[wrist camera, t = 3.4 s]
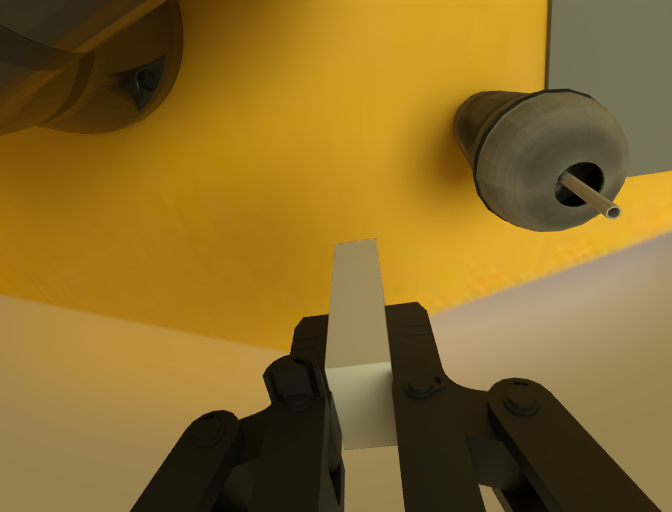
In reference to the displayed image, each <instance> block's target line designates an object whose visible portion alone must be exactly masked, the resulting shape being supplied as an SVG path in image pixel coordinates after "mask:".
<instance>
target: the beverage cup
mask: <svg viewBox="0 0 672 512" xmlns="http://www.w3.org/2000/svg"><path fill="white" fill-rule="evenodd" d="M454 132H455V136H456V138H457V142H458V144H459V146H460V148H461V150H462V152H463V153H464V155H465V157H466V159H467V161H468V163H469V164H470V166H471V168H472V170H473V178H474V182H475V186H476V190H477V194H478V196H479V197H480V199H481V200H482V201H483V203H484V204H485V206H486V207H487V209H488V210H489V211H491V212H492V213H494V214H495V215H497V216H498V217H500V218H501V219H502V220H504V221H507V222H509V223H511V224H513V225H515V226H517V227H521V228H525V229H529V230H532V231H538V232H549V231H562V230H566V229H569V228H572V227H576V226H579V225H582V224H584V223H586V222H587V221H589V220H591V219H592V218H594V217H596V216H597V215H599V214H600V213H601V214H603V215H604V216H605V217H607V218H608V219H616V218H618V217H619V216H620V215H621V212H622V210H621V209H620V208H619V206H617V205H616V204H614V203H613V202H612V201H613V200H614V199H615V197H616V196H617V194H618V192H619V191H620V189H621V187H622V186H623V184H624V182H625V178H626V174H627V170H628V167H629V152H628V141H627V139H626V136H625V134H624V132H623V130H622V128H621V126H620V124H619V122H618V120H617V119H616V118H615V117H614V116H613V115H612V114H611V113H610V112H609V111H607V110H606V108H604V107H603V106H602V105H601V104H600V103H598V102H597V101H596V100H595V99H594V98H592V97H591V96H590V95H588V94H585V93H581V92H578V91H575V90H572V89H568V88H565V89H546V90H541V91H539V92H534V93H520V92H507V91H487V92H480V93H477V94H475V95H472V96H471V97H469V98H468V99H467V100H466V101H464V102H463V104H462V105H461V106H460V108H459V109H458V111H457V113H456V116H455V119H454Z"/></svg>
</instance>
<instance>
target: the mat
mask: <svg viewBox="0 0 672 512" xmlns="http://www.w3.org/2000/svg"><path fill="white" fill-rule="evenodd" d="M565 88H568V89H572V90H575V91H578V92H581V93H585V94H588V95H590V96H591V97H592V98H594V99H595V100H596V101H597V102H598V103H600V104H601V105H602V106H603V107H604V108H606V110H607V111H609V112H610V113H611V114H612V115H613V116H614V117H615V118H616V119H617V120H618V122H619V124H620V126H621V128H622V130H623V132H624V134H625V136H626V139H627V141H628V152H629V167H628V170H627V174H626V177H631V176H637V175H644V174H650V173H657V172H664V171H670V170H672V0H549V18H548V41H547V64H546V87H545V90H546V89H565Z"/></svg>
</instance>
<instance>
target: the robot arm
mask: <svg viewBox="0 0 672 512" xmlns="http://www.w3.org/2000/svg"><path fill="white" fill-rule="evenodd" d="M182 48H183V30H182V20H181V14H180V9H179V5H178V1H177V0H0V136H2V135H5V134H9V133H12V132H16V131H19V130H23V129H26V128H29V127H32V126H39V127H44V128H50V129H55V130H60V131H66V132H72V133H80V134H94V133H104V132H110V131H114V130H117V129H120V128H123V127H125V126H128V125H130V124H133V123H135V122H138V121H139V120H141V119H143V118H145V117H146V116H148V115H149V114H150V113H152V112H153V111H154V110H155V109H156V108H157V107H158V106H159V105H160V104H161V103H162V102H163V101H164V99H165V98H166V97H167V95H168V93H169V92H170V90H171V88H172V86H173V84H174V82H175V80H176V77H177V74H178V71H179V67H180V63H181V57H182ZM263 379H264V381H265V385H266V388H267V391H268V394H269V397H270V400H271V405H270V406H269V407H267V408H266V409H264V410H262V411H260V412H258V413H256V414H253V415H251V416H248V417H245V418H242V419H240V420H238V418H237V417H236V416H235V415H234V414H233V413H232V412H228V411H225V410H220V411H212V412H209V413H207V414H204V415H202V416H201V417H199V418H198V419H196V420H195V421H193V422H192V423H191V425H190V426H189V427H188V428H187V429H186V430H185V431H184V433H183V434H182V436H181V437H180V439H179V440H178V442H177V443H176V445H175V446H174V448H173V449H172V450H171V452H170V453H169V455H168V456H167V458H166V459H165V461H164V462H163V464H162V465H161V467H160V468H159V470H158V471H157V472H156V474H155V475H154V477H153V478H152V480H151V481H150V483H149V484H148V486H147V487H146V488H145V490H144V491H143V493H142V494H141V496H140V497H139V499H138V501H137V502H136V503H135V505H134V506H133V508H132V509H131V510H130V512H344V488H345V482H344V481H345V469H344V464H343V460H342V456H341V449H342V442H343V446H344V450H353V449H364V448H374V447H385V446H397V445H398V452H399V461H400V470H401V479H402V488H403V497H404V507H405V512H486V510H485V506H484V503H483V499H482V496H481V492H480V488H479V485H478V484H480V485H485V486H489V487H492V490H493V492H494V494H495V495H496V497H497V499H498V500H499V502H500V504H501V505H502V507H503V509H504V511H505V512H661V511H660V509H659V508H657V506H656V505H655V504H654V503H653V502H652V501H651V500H650V499H649V498H648V497H647V496H646V494H645V493H644V492H643V491H642V490H641V489H640V488H639V487H638V486H637V485H636V484H635V483H634V482H633V481H632V479H631V478H630V477H629V476H628V475H627V474H626V473H625V472H624V471H623V470H622V469H621V468H620V466H619V465H618V464H617V463H616V462H615V461H614V460H613V459H612V458H611V457H610V456H609V455H608V454H607V453H606V451H605V450H604V449H603V448H602V447H601V446H600V445H599V444H598V443H597V442H596V441H595V440H594V439H593V437H592V436H591V435H590V434H589V433H588V432H587V431H586V430H585V429H584V428H583V427H582V426H581V425H580V424H579V422H577V420H576V419H575V418H574V417H573V416H572V415H571V414H570V413H569V412H568V411H567V410H566V409H565V407H564V406H563V405H562V404H561V403H560V402H559V401H558V400H557V399H556V398H555V397H554V396H553V394H552V393H551V392H550V391H548V390H547V389H546V388H544V387H543V386H542V385H541V384H539V383H536V382H534V381H531V380H529V379H522V378H509V379H503V380H501V381H499V382H497V383H495V384H494V385H493V386H492V387H491V389H490V390H489V391H480V390H474V389H470V388H465V387H463V386H460V385H458V384H456V383H455V382H453V381H452V380H450V379H449V378H448V376H447V375H446V374H445V372H444V370H443V368H442V364H441V361H440V358H439V354H438V350H437V346H436V343H435V339H434V335H433V332H432V328H431V325H430V321H429V317H428V313H427V310H425V309H424V308H423V307H422V306H421V305H420V304H419V303H418V302H411V303H403V304H396V305H388V306H386V305H385V297H384V291H383V284H382V277H381V270H380V264H379V257H378V250H377V243H376V238H375V239H368V240H361V241H354V242H347V243H340V244H335V249H334V261H333V273H332V285H331V297H330V310H329V314H326V315H318V316H310V317H303V319H302V320H301V321H300V322H299V324H298V325H297V326H296V328H295V330H294V335H293V342H292V346H291V352H290V355H287V356H283V357H281V358H279V359H277V360H276V361H274V362H273V363H272V364H271V365H270V366H269V367H268V368H267V369H266V371H265V372H264V374H263Z"/></svg>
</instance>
